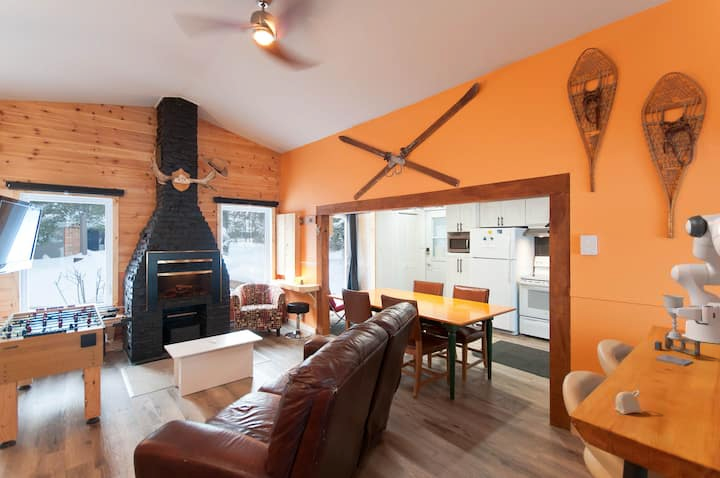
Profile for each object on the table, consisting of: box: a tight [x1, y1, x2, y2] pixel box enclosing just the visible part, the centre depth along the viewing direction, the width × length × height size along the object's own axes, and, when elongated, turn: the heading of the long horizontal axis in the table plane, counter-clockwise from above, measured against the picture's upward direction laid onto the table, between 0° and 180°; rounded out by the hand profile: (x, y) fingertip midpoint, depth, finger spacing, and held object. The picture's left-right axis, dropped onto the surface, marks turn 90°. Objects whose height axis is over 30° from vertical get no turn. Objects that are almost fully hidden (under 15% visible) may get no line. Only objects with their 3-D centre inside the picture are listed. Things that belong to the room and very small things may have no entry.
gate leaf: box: [664, 333, 701, 357], centre depth 153 cm, size 14×2×6 cm, turn 10°
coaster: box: [655, 354, 694, 367], centre depth 142 cm, size 9×9×1 cm
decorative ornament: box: [614, 389, 644, 416], centre depth 98 cm, size 4×8×5 cm, turn 98°
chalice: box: [662, 294, 685, 339], centre depth 149 cm, size 7×7×18 cm
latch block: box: [654, 340, 663, 351], centre depth 158 cm, size 3×2×4 cm, turn 120°
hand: (671, 308), depth 150 cm, fingers closed on chalice, 6 cm apart
